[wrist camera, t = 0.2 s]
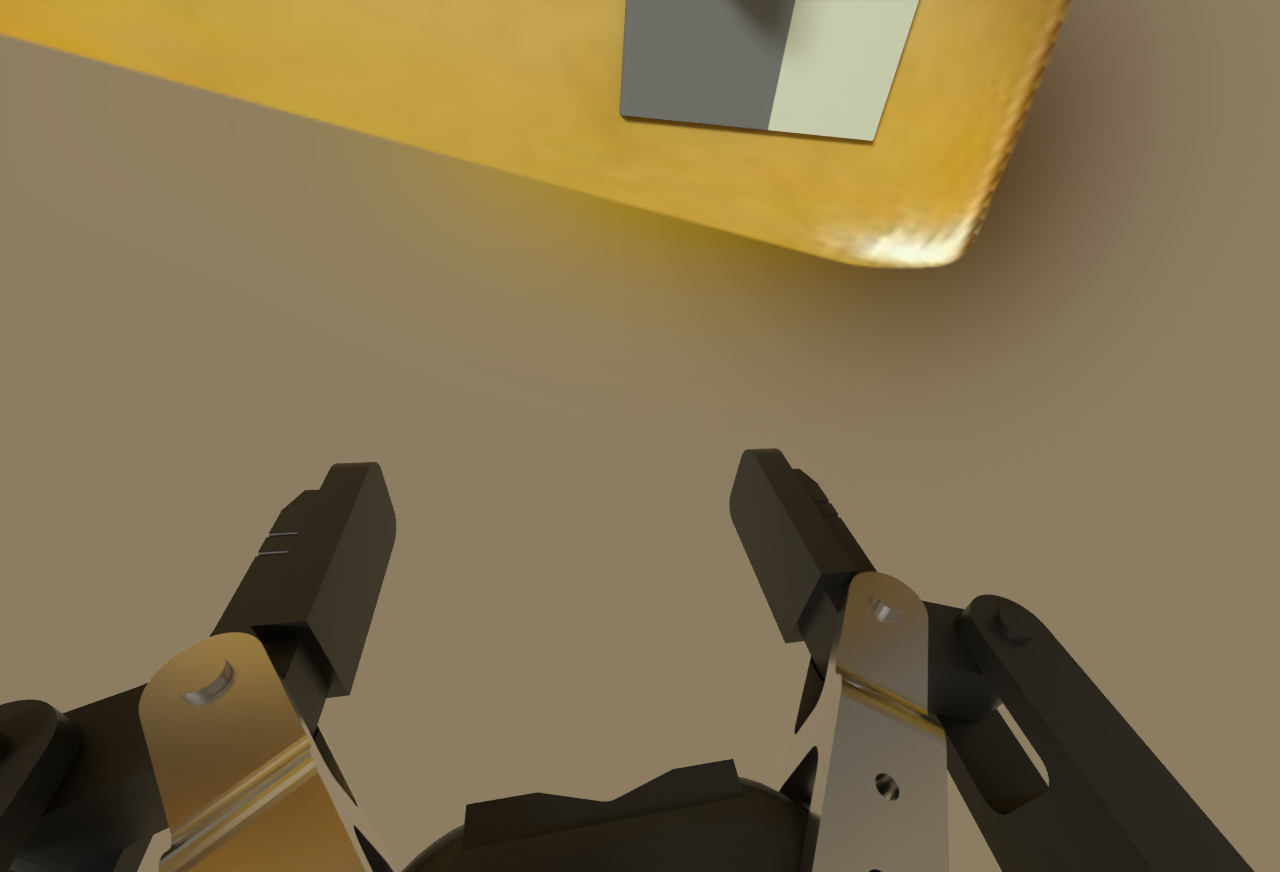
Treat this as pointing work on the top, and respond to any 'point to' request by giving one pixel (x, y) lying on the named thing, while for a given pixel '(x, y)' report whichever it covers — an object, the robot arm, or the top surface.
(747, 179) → the top surface
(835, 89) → the mat
